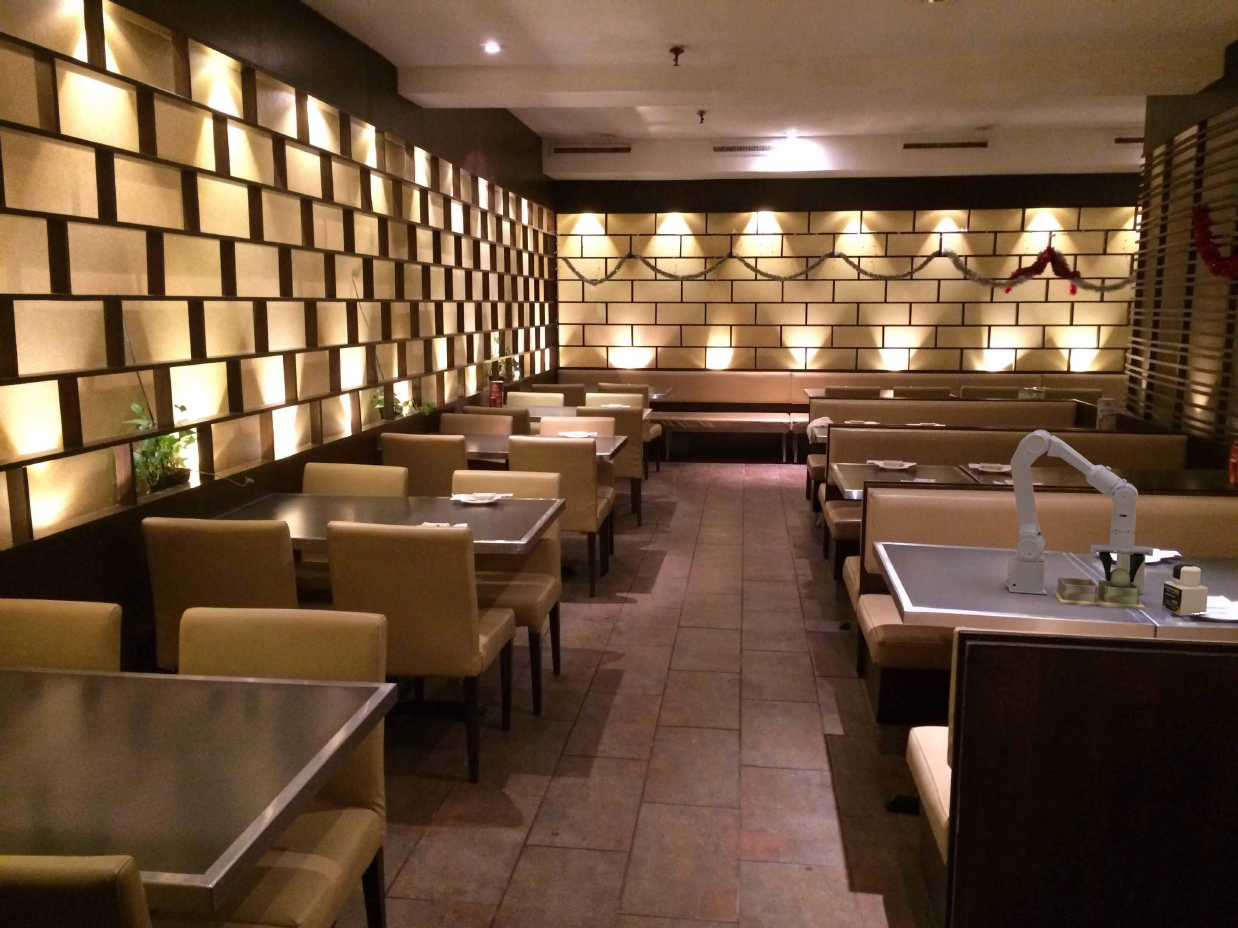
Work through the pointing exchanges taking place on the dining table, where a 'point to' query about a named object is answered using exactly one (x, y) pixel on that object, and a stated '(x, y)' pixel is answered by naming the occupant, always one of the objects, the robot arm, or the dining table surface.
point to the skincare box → (1124, 563)
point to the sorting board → (1107, 596)
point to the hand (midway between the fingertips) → (1119, 580)
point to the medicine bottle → (1185, 591)
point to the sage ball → (1120, 577)
